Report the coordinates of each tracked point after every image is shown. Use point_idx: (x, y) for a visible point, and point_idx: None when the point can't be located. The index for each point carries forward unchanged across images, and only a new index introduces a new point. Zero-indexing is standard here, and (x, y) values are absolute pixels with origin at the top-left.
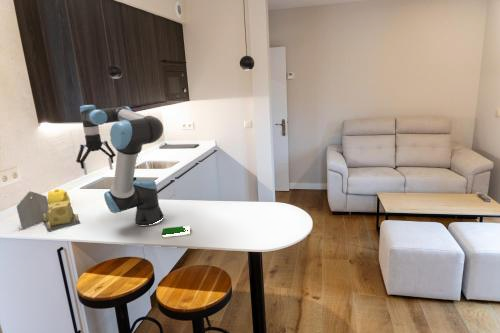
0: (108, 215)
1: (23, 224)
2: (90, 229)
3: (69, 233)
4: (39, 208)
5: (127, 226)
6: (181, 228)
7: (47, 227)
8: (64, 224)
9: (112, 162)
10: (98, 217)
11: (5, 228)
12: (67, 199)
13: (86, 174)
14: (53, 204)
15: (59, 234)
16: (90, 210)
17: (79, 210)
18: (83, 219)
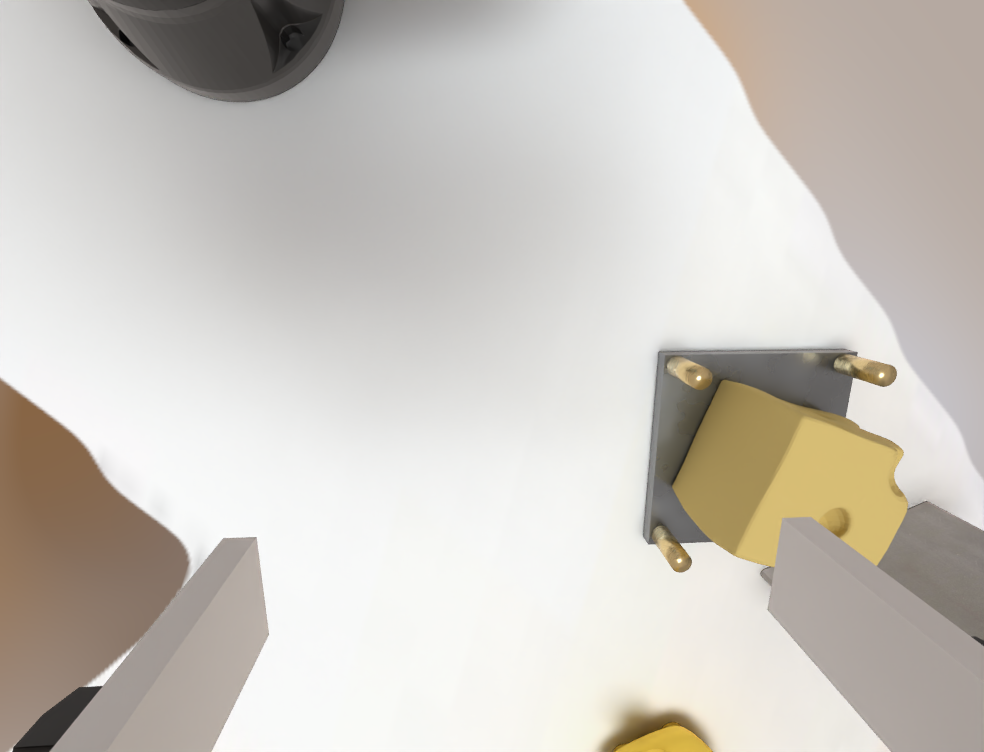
0: (465, 356)
1: (947, 519)
2: (642, 178)
3: (764, 219)
4: None
5: (414, 2)
6: None
7: (844, 400)
8: (755, 372)
9: (78, 710)
10: (532, 370)
11: None
12: None
13: (797, 519)
14: (860, 541)
15: (813, 253)
16: (536, 542)
17: (592, 591)
18: (621, 408)
